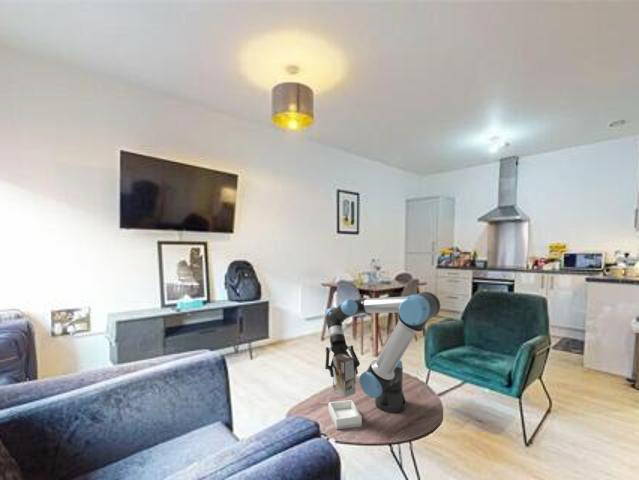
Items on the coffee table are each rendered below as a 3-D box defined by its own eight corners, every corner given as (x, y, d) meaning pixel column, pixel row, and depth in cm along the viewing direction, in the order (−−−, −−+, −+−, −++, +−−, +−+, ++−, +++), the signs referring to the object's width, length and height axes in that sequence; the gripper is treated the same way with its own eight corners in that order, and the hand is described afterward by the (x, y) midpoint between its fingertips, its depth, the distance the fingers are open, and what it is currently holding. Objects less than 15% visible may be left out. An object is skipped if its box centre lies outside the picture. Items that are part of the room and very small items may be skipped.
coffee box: (355, 393, 146) (356, 358, 146) (345, 397, 142) (345, 361, 142) (342, 386, 153) (342, 352, 153) (332, 390, 149) (332, 355, 149)
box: (351, 408, 156) (351, 399, 156) (361, 426, 141) (361, 416, 141) (328, 411, 153) (328, 402, 153) (336, 429, 139) (336, 419, 139)
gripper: (355, 339, 165) (366, 383, 149) (314, 341, 160) (321, 388, 145) (359, 331, 159) (370, 377, 144) (316, 334, 155) (323, 381, 140)
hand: (346, 382), depth 144 cm, fingers closed on coffee box, 9 cm apart
